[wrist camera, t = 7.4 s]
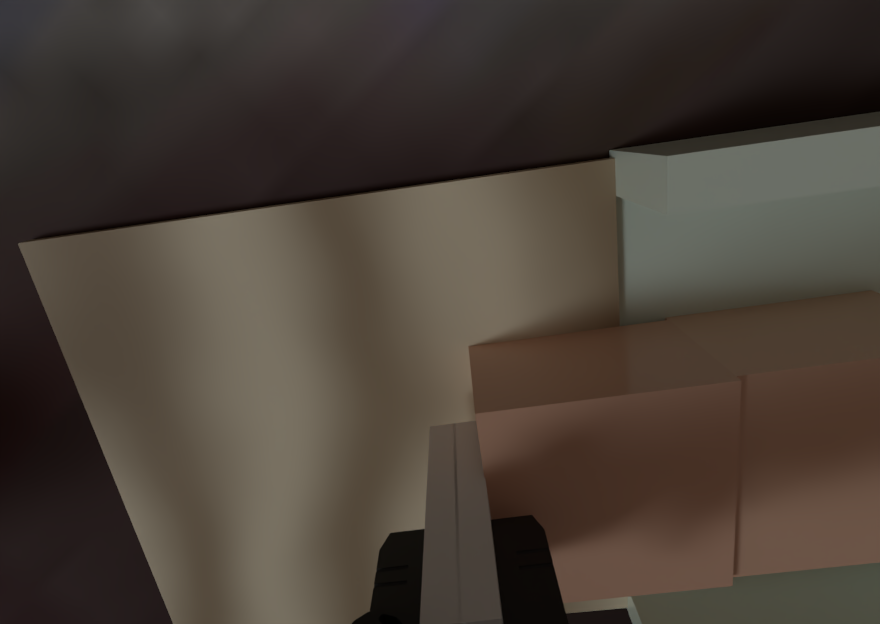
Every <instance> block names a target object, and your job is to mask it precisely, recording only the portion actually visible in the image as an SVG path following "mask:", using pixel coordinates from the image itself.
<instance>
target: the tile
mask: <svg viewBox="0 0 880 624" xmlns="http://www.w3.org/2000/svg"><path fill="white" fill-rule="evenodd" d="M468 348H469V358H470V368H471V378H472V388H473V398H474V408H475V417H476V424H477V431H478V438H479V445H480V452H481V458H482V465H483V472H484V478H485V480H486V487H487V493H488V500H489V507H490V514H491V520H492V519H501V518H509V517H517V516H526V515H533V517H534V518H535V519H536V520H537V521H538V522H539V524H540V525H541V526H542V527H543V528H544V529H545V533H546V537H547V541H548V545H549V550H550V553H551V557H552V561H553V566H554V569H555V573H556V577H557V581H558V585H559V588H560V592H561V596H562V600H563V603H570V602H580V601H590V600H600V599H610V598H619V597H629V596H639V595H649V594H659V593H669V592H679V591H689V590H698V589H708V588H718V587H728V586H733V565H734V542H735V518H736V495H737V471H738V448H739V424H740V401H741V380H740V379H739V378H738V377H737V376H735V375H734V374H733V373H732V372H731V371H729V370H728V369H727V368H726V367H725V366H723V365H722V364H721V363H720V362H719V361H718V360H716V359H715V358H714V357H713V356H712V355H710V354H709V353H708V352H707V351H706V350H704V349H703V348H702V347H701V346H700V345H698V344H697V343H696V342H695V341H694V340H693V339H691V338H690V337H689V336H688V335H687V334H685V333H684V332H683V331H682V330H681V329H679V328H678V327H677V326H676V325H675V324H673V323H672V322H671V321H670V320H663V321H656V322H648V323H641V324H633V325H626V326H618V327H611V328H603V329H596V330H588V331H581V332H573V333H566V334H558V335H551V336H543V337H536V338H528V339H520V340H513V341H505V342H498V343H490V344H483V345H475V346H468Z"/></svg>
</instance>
